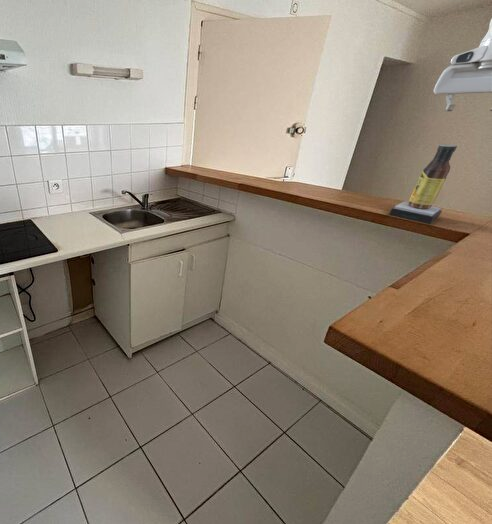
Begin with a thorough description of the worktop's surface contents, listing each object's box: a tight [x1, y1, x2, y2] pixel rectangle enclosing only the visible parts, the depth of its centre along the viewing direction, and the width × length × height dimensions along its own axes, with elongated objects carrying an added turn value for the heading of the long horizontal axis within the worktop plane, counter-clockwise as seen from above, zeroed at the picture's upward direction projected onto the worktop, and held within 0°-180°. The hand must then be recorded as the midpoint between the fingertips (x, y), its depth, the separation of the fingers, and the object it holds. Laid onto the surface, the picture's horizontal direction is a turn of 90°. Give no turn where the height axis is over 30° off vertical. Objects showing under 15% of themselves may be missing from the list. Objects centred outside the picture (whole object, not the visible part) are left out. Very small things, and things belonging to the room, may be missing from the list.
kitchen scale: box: [389, 200, 443, 225], centre depth 97 cm, size 11×11×3 cm
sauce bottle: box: [408, 144, 458, 209], centre depth 92 cm, size 6×6×20 cm
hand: (470, 111), depth 83 cm, fingers open, 8 cm apart
